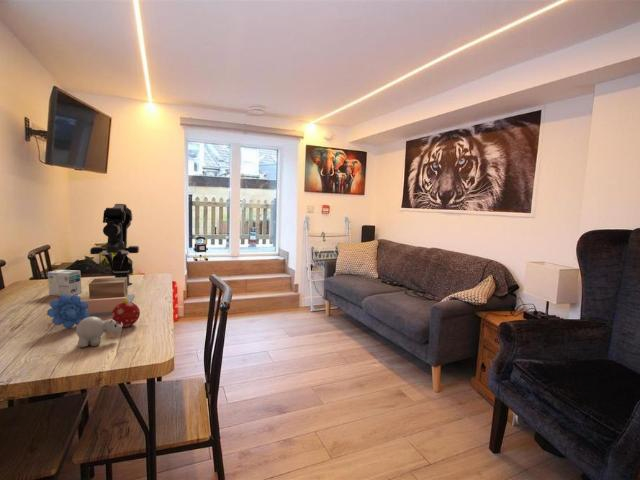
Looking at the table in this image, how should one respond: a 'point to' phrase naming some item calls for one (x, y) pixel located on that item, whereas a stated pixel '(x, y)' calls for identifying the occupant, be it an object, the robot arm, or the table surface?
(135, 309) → the christmas ornament
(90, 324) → the round bodied animal figurine
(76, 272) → the light bulb box
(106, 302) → the stop bar
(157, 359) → the table surface
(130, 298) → the slate board
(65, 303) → the blue lumpy rosette
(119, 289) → the walnut slab
